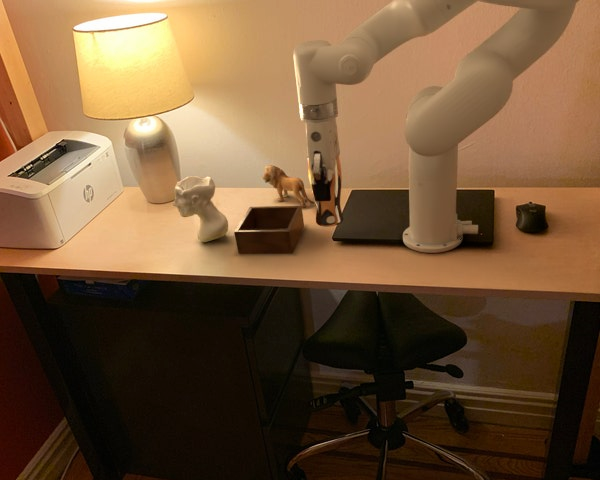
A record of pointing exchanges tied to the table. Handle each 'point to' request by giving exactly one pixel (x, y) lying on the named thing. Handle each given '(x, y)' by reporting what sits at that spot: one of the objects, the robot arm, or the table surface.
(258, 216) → the tub
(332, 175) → the beer glass
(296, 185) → the lion figurine
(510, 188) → the table surface
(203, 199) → the white sculpted bust
